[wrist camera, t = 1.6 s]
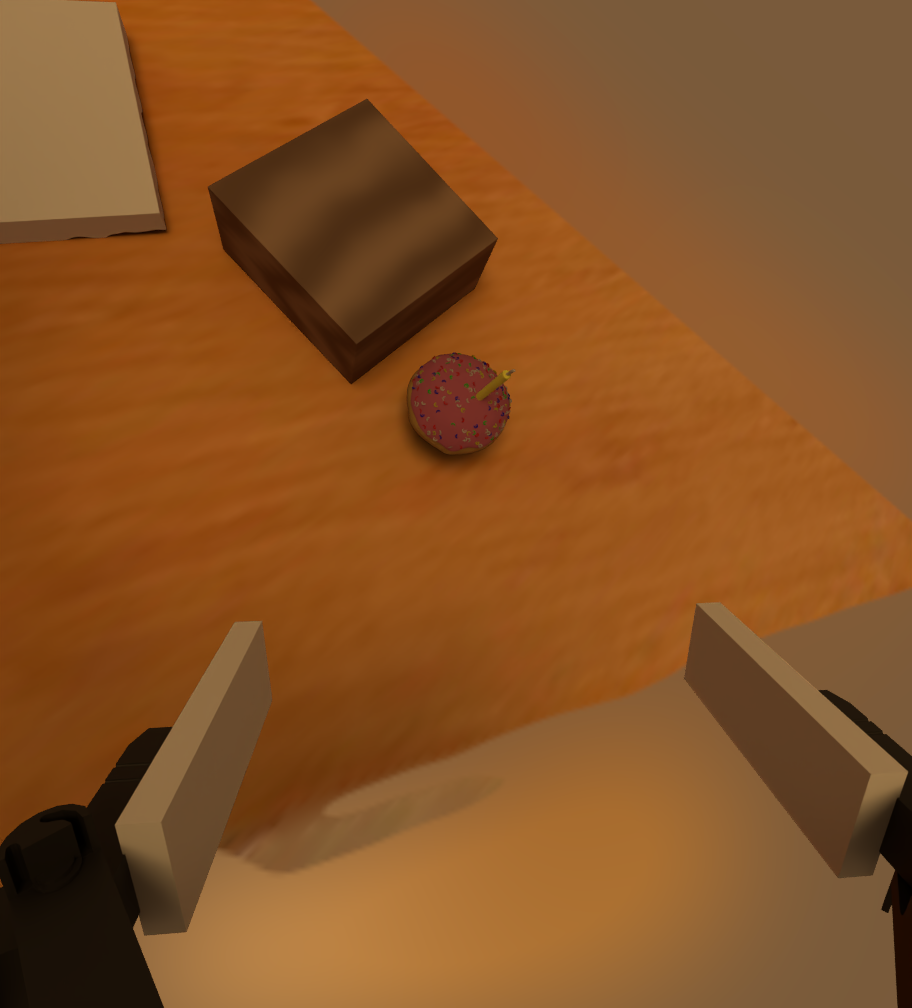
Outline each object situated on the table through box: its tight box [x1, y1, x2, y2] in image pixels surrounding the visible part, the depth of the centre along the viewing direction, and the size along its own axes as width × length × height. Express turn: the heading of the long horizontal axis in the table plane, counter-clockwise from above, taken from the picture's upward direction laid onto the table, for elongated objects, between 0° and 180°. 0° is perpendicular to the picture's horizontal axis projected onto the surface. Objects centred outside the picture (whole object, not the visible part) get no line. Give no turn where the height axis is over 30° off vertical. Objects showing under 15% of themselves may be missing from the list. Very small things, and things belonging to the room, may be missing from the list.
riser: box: [208, 99, 498, 384], centre depth 46 cm, size 16×16×7 cm
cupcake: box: [407, 353, 515, 455], centre depth 42 cm, size 9×8×12 cm
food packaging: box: [0, 0, 166, 244], centre depth 44 cm, size 15×3×20 cm
